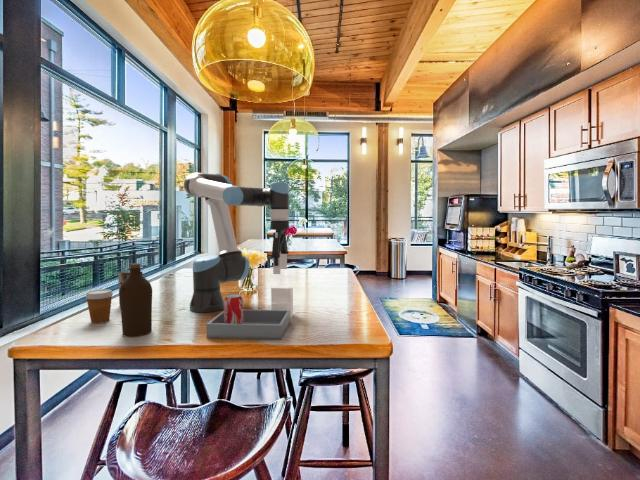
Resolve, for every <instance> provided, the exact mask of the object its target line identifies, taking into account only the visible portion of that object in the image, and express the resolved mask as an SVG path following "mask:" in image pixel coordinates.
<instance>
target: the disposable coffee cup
mask: <svg viewBox="0 0 640 480" xmlns="http://www.w3.org/2000/svg"><path fill="white" fill-rule="evenodd" d="M112 291H113V290H111V289H107V288H105V289H103V288H102V289H95V290H89V291H87V292H86V293H85V295H84V296H85V298H86V301H87V307H88V313H89V318H90V323H91V322H92V323H91V324H102V323H101V322H104V323H107V322H109V321H110V320H111V318H110V317H111V307H112V297H113V295H114V293H113V292H112ZM108 320H109V321H108ZM106 321H107V322H106Z"/></svg>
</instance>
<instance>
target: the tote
mask: <svg viewBox="0 0 640 480" xmlns="http://www.w3.org/2000/svg"><path fill="white" fill-rule="evenodd" d="M290 324H291V318H290V310H271V309H244V322H243V324H228V323H224V310H223V311H221V312H220V313H219V314H217V315H216V316H215V317H213V318H212V319H211V320H210V321H208V322H207V323H206V324H205V325H206V330H205V331H206V339H219V338H236V339H235V340H261V339H263V341H264V340H268V341H269V340H270V341H282V339H283V338H284V336H285V334H286V332H287V331H288V328H289V326H290Z"/></svg>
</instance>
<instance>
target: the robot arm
mask: <svg viewBox="0 0 640 480" xmlns="http://www.w3.org/2000/svg"><path fill="white" fill-rule="evenodd" d="M183 188H184V190H185V192H186V193H187V194H188V195H190V196H191V197H195V198H196V197H197V198H204V200H205V204H207V205H208V206H209V209H210V213H211V217H212V218H211V219H212V223H213V227H214V231H215V232H214V233H215V235H216V236H215V237H216V242H217V245H218V250H219V252H218V254H217V255H215V254H213V255H205V256H200V257H197V258H196V259H194V260H193V264H192V282H193V285H192V287H193V292H192V293H193V294H192V296H191V300H190V302H189V310H190V311H191V312H194V313H210V312H211V313H212V312H217V311H221V310H224V299H225V298H224V297H223V294H222V291H221V284H224V283H231V282H232V283H233V282H238V281H242V280H244V279H246V278H247V276H248V275H249V272H250V267H251V266H250V261H249V258H248V257H247V256H245V255H243V253H242V250H241V249H239V248H238V245H237V240H236V236H235V230H234V227H233V222H232V221H233V220H232V217H231V213H230V208H229V206H233V207H234V206H235V207H236V206H243V207H244V206H245V207H247V206H249V207H269V206H270V210H269V211H270V214H269V215H270V218H269V219H270V230H272V231H273V230H275V232H273V236H272V237H273V239H272V240H273V241H272V248H271V255H270V258H272V261H273V262H272V263H273V264H272V272H273V275H281V270H287V269H288V266H287V265H288V259H287V258H288V255H287V254H289V250H288V244H287V243H288V242H287V230H289V229H290V221H289V218H290V215H291V211H290V210H289V209H290V204H289V203H290V200H289V198H290V190H289V183H288V182H286V181H271V182H270V183H269V187H249V186H247V187H246V186H238V185H233V184H232V181H231V179H230V178H229V177H228V176H226V175H224V174H220V173H206V172H205V173H204V172H193V173H190V174H189V175H187V176H186V178H184V180H183Z"/></svg>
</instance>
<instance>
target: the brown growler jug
mask: <svg viewBox="0 0 640 480" xmlns="http://www.w3.org/2000/svg"><path fill="white" fill-rule="evenodd" d="M129 271H130V275H129V277H128V278H127V279H126V280H125V281H124V282H123V283H122V284H121V286H120V289H119V288H118V299H119V298H120V304H119V307H120V316H121V327H122V328H121V331H122V336H123V337H127V338H129V337H130V338H134V337H141V336H146V335H149V334H150V333H152V327H153V325H152V322H153V321H152V319H153V318H152V317H153V315H152V314H153V310H152V309H153V287H152V284H151V282H150V281H149V280H148V279H146V277H145V276H142V275H143V274H142V275H141V273H140V271H141V263H139V262H138V263H135V262H134V263H130V264H129ZM148 333H149V334H148Z"/></svg>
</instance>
